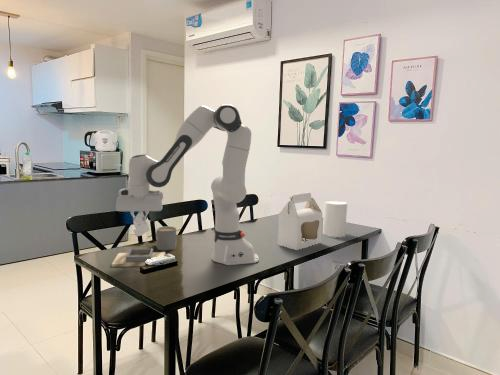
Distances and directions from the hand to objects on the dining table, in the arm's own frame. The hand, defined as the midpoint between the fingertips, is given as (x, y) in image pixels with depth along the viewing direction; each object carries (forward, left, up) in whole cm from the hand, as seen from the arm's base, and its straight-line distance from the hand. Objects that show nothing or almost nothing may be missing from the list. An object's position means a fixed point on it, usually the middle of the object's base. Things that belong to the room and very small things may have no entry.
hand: (139, 220), depth 171 cm
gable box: (-83, -21, -19) cm, 87 cm away
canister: (-110, -40, -19) cm, 119 cm away
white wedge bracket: (-1, 0, -6) cm, 6 cm away
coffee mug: (-10, -21, -19) cm, 30 cm away
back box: (0, 0, -18) cm, 18 cm away
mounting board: (0, 0, -19) cm, 19 cm away
